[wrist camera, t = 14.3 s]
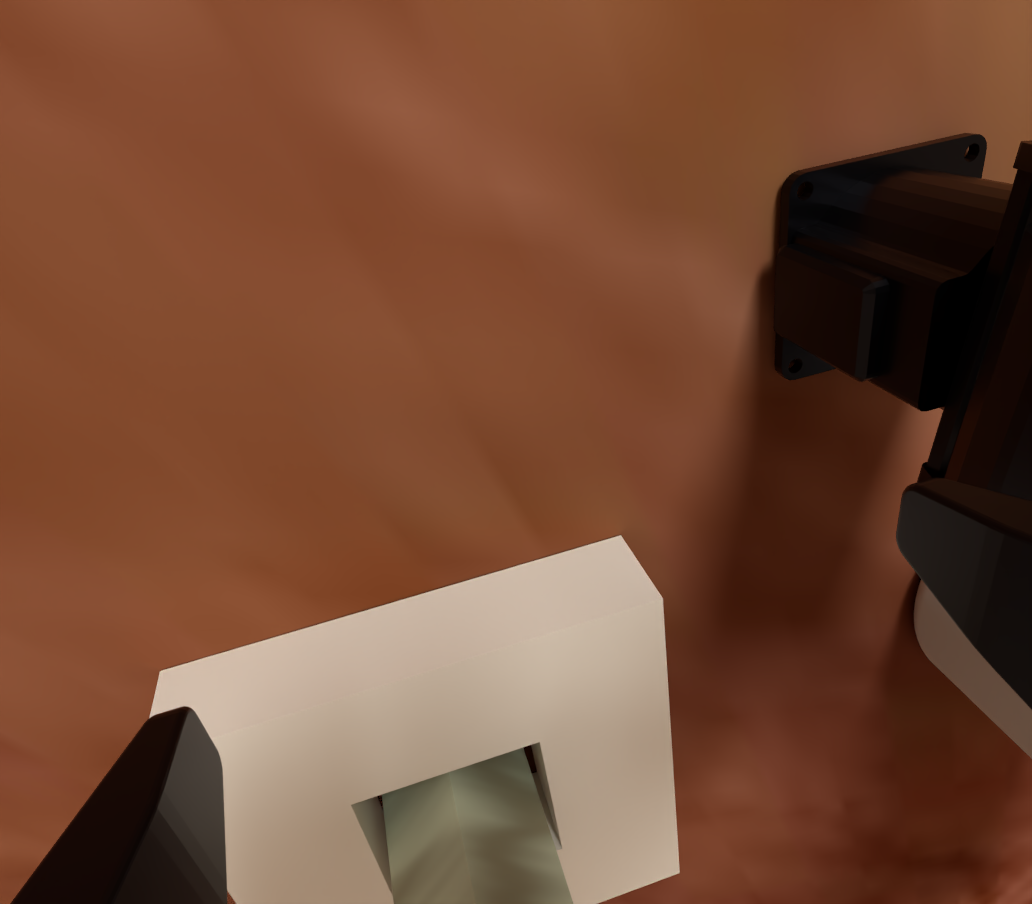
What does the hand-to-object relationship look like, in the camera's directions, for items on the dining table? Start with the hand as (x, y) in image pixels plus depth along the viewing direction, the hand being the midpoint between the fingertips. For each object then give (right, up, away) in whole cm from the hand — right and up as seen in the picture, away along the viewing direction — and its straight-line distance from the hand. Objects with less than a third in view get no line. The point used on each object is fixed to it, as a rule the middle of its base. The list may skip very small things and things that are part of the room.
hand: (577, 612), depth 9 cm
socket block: (-3, -10, +20) cm, 22 cm away
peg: (-3, -10, +20) cm, 22 cm away
